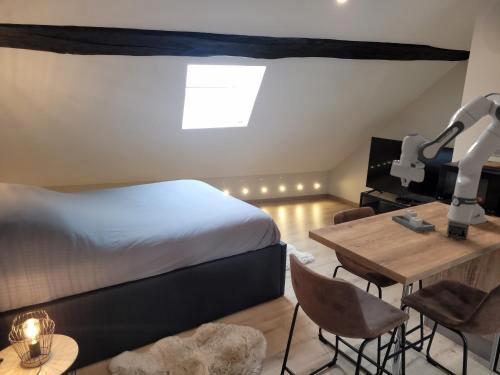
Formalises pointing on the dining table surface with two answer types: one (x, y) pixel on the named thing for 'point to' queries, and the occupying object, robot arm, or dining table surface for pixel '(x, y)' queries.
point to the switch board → (405, 222)
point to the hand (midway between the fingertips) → (404, 186)
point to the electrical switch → (457, 229)
